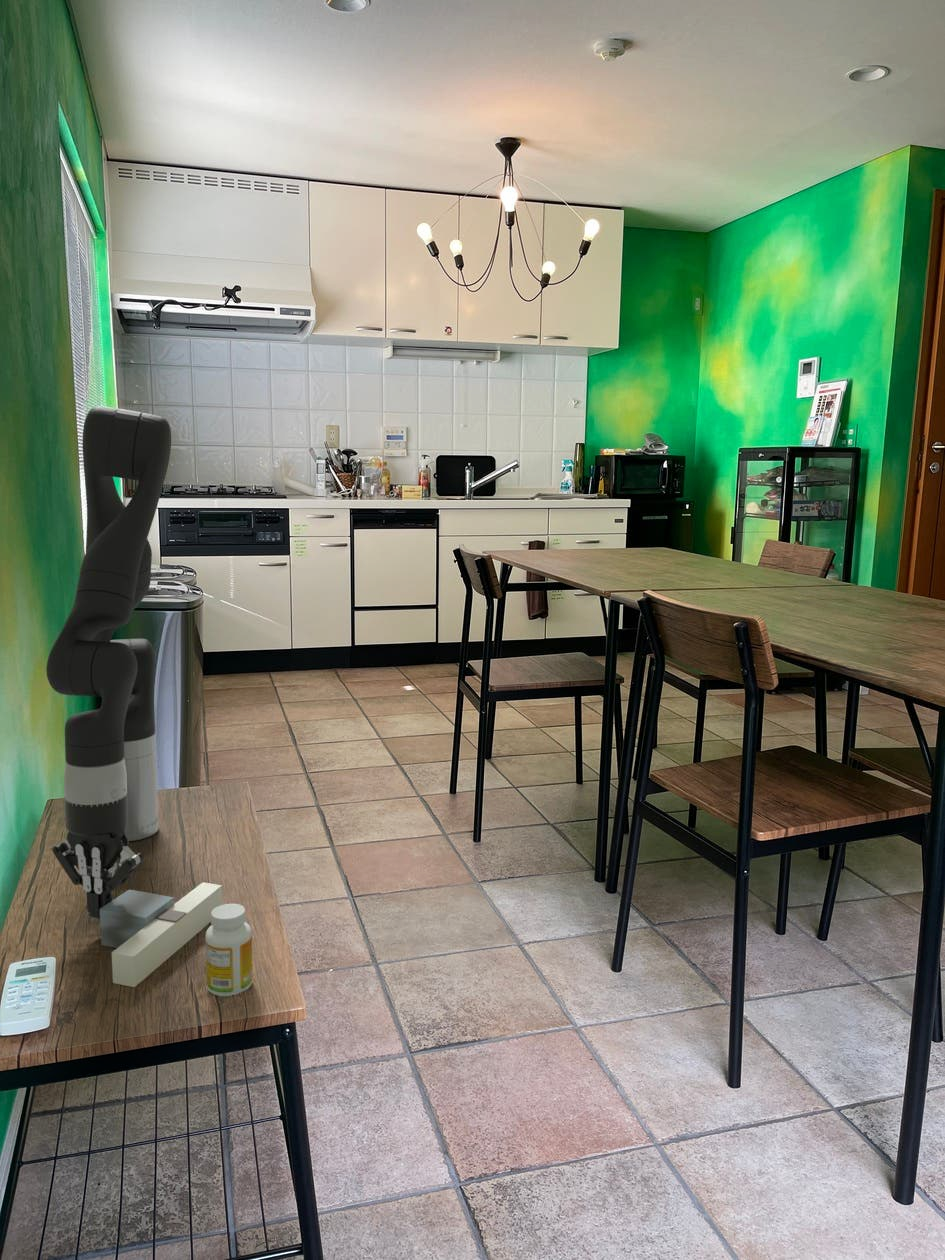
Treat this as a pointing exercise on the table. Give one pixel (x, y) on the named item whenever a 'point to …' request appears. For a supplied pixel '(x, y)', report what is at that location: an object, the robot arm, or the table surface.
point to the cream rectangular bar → (164, 935)
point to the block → (130, 915)
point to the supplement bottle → (228, 951)
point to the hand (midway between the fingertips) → (99, 915)
